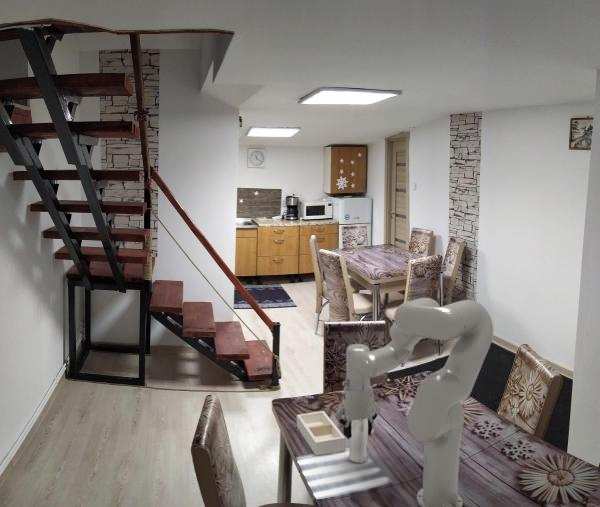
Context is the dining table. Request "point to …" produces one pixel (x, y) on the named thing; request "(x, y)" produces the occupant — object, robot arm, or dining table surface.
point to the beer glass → (358, 440)
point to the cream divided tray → (320, 433)
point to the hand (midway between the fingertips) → (357, 434)
